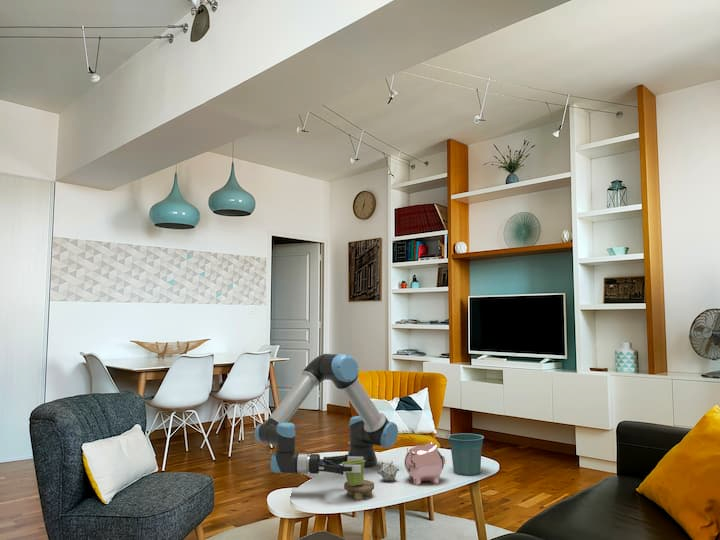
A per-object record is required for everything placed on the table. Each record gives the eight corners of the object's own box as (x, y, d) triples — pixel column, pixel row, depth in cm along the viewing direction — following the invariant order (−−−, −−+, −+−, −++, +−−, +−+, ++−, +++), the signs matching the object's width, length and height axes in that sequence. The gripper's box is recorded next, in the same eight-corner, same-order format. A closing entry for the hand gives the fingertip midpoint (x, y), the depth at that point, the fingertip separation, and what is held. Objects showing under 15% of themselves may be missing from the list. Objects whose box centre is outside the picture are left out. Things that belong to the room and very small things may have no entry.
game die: (391, 490, 238) (397, 475, 233) (373, 482, 239) (378, 467, 235) (397, 475, 245) (403, 460, 240) (380, 468, 247) (384, 452, 242)
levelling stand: (345, 490, 225) (345, 479, 225) (375, 491, 224) (374, 480, 224) (342, 500, 213) (342, 488, 213) (373, 500, 212) (373, 488, 212)
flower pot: (447, 475, 247) (446, 439, 249) (450, 467, 263) (449, 432, 265) (484, 478, 243) (483, 440, 245) (485, 468, 259) (484, 433, 261)
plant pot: (352, 482, 222) (350, 460, 224) (372, 482, 218) (369, 459, 220) (339, 487, 215) (337, 464, 217) (359, 486, 210) (356, 462, 212)
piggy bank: (451, 484, 234) (450, 445, 235) (410, 487, 230) (410, 448, 231) (438, 475, 248) (438, 438, 250) (400, 477, 245) (400, 440, 246)
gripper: (314, 465, 233) (364, 466, 231) (303, 481, 208) (359, 482, 207) (314, 447, 234) (364, 448, 232) (304, 461, 209) (359, 462, 207)
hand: (362, 464), depth 219 cm, fingers open, 13 cm apart
